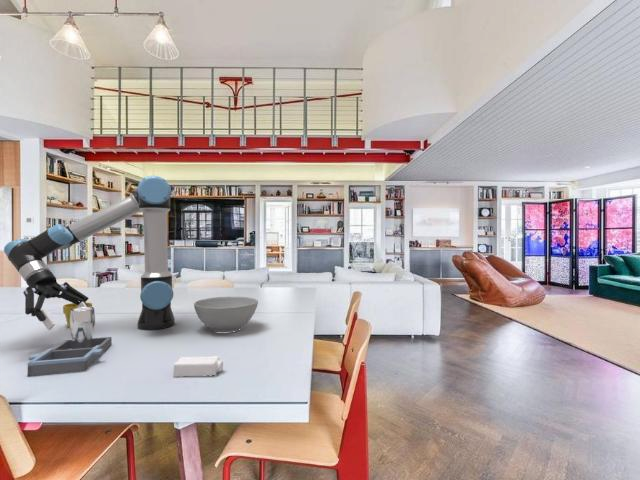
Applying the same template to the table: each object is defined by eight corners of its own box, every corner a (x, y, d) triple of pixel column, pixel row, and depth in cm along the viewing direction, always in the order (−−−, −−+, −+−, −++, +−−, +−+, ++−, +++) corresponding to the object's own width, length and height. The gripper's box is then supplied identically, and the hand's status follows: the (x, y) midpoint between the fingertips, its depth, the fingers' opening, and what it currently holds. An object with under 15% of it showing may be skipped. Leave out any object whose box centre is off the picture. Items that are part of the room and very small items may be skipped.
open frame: (117, 344, 121) (117, 334, 121) (93, 370, 97) (93, 357, 97) (59, 348, 115) (59, 338, 115) (18, 377, 91) (18, 363, 91)
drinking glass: (67, 357, 107) (67, 311, 107) (71, 351, 113) (72, 307, 113) (92, 354, 110) (93, 309, 110) (95, 348, 116) (96, 306, 116)
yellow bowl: (96, 325, 147) (96, 303, 147) (68, 330, 138) (69, 307, 138) (85, 322, 152) (85, 301, 152) (58, 327, 144) (58, 304, 144)
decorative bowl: (269, 325, 149) (269, 299, 149) (230, 342, 125) (231, 310, 125) (223, 319, 160) (223, 294, 160) (179, 333, 136) (179, 304, 136)
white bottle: (219, 378, 93) (219, 363, 93) (173, 378, 92) (173, 363, 92) (224, 369, 99) (225, 355, 100) (181, 369, 99) (181, 355, 99)
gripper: (66, 279, 128) (97, 320, 124) (-11, 288, 103) (26, 339, 100) (78, 266, 127) (109, 307, 123) (3, 272, 102) (40, 323, 99)
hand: (72, 322), depth 112 cm, fingers open, 13 cm apart
